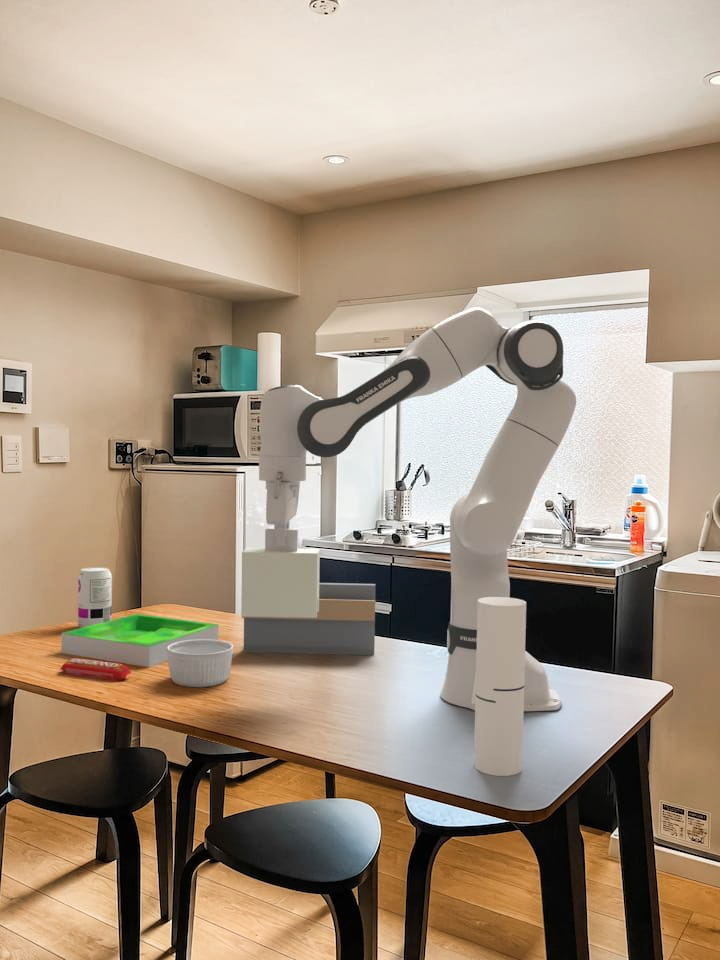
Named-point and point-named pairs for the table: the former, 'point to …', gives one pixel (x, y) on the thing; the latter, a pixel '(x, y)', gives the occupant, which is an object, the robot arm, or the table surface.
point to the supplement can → (94, 596)
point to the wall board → (320, 625)
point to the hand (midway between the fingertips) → (281, 544)
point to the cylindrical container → (500, 685)
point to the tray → (134, 638)
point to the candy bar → (95, 669)
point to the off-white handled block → (280, 579)
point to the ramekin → (200, 662)
